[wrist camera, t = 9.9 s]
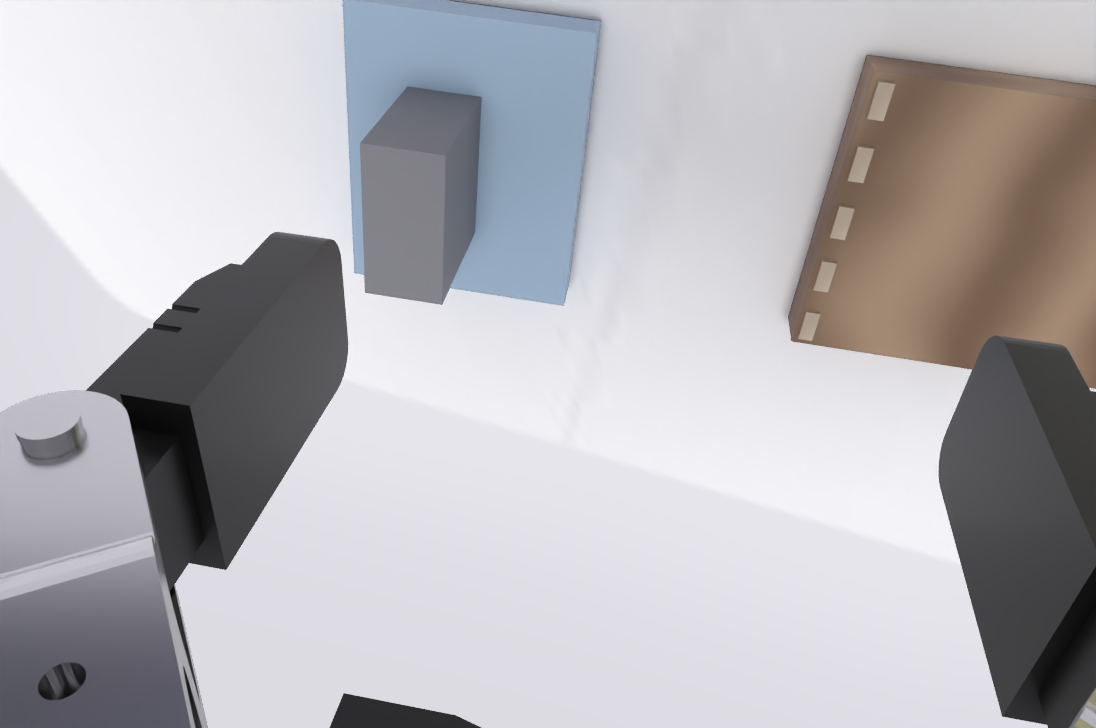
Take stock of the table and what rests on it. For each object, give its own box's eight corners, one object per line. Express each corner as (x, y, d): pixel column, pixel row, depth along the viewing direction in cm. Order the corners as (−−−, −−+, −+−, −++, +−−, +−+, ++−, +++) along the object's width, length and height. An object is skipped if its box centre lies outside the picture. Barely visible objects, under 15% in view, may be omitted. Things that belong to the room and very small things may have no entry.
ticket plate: (1302, 113, 33) (1336, 135, 31) (1144, 371, 40) (1164, 401, 38) (867, 54, 34) (875, 73, 32) (788, 317, 41) (791, 343, 39)
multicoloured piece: (600, 21, 34) (577, 85, 28) (568, 286, 41) (544, 384, 35) (356, -12, 35) (281, 44, 29) (365, 255, 42) (306, 346, 36)
